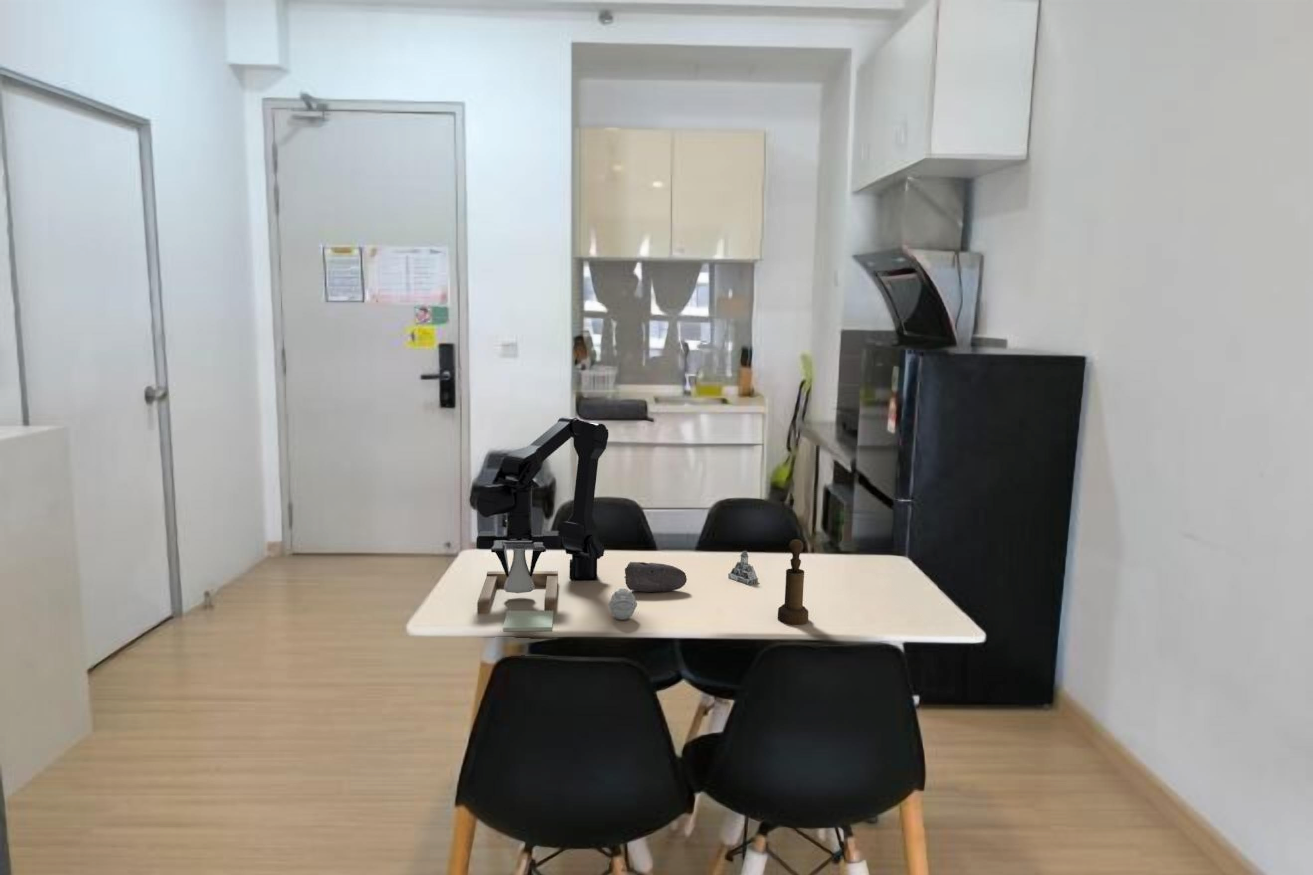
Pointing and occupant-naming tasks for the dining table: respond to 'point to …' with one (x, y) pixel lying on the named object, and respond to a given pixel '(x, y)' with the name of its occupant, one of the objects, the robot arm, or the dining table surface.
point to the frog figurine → (622, 604)
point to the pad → (528, 621)
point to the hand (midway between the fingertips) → (519, 576)
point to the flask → (519, 573)
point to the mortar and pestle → (794, 590)
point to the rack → (499, 579)
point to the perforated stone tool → (653, 577)
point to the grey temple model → (743, 571)
